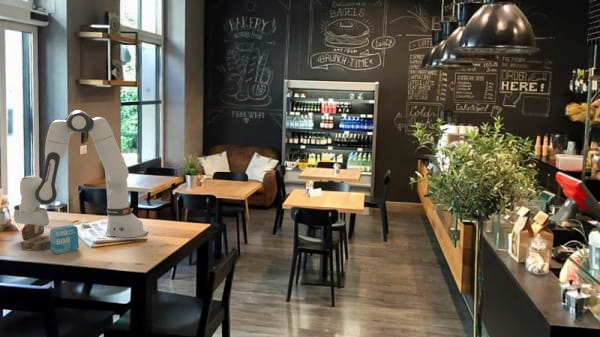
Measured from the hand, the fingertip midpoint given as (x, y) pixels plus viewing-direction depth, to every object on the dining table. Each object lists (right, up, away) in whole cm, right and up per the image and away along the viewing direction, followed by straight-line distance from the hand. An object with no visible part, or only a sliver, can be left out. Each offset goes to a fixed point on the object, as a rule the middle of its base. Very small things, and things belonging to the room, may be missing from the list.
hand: (32, 232), depth 314 cm
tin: (0, -4, +1) cm, 4 cm away
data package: (+25, -7, -21) cm, 33 cm away
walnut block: (+10, -6, -9) cm, 15 cm away
